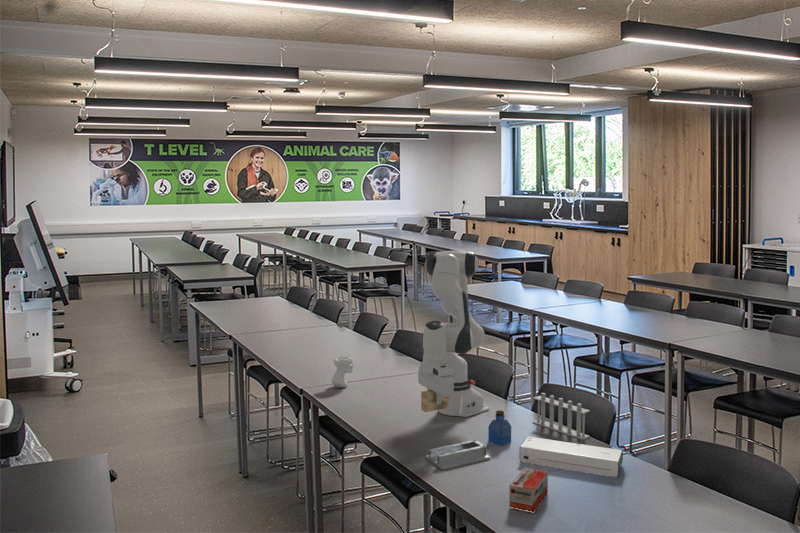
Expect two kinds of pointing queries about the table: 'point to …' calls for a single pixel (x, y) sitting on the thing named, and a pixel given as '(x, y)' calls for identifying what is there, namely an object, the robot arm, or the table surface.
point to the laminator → (571, 456)
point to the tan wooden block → (432, 401)
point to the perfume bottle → (499, 430)
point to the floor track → (457, 454)
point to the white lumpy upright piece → (342, 370)
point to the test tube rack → (561, 416)
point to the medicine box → (528, 489)
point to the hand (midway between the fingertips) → (435, 402)
